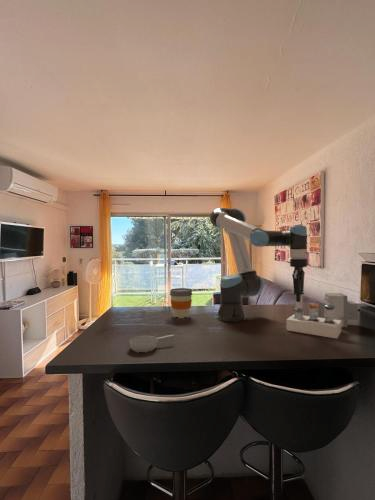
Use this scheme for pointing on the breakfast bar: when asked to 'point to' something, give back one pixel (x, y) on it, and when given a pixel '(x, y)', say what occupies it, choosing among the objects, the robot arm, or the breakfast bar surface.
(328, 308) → the plunger right
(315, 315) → the plunger mid
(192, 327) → the breakfast bar surface
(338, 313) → the circuit breaker
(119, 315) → the breakfast bar surface
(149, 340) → the small pan
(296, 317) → the plunger left
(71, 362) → the breakfast bar surface
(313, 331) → the panel
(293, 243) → the robot arm
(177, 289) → the reusable coffee cup
